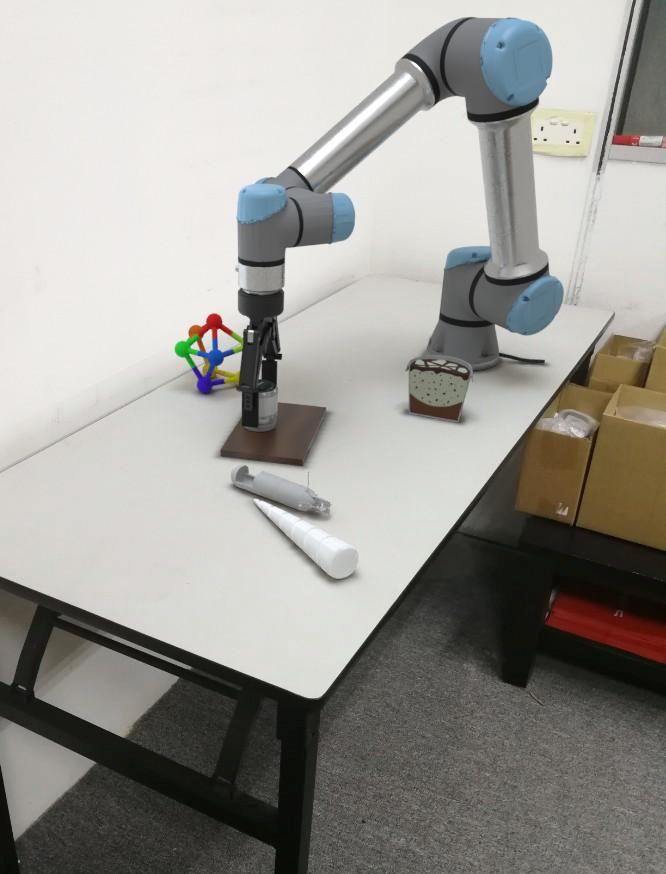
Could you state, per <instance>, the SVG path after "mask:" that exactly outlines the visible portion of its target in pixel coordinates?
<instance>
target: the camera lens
mask: <svg viewBox="0 0 666 874" xmlns="http://www.w3.org/2000/svg"><path fill="white" fill-rule="evenodd" d="M257 390H259V426H258V428H254V427H245V426H244V427H245V428H246V429H248V430H250V431H255V432H265V431H269V430H272V429H273V428H275V425H276V422H277V416H278V413H277V411H278V402H279V387H278V385H277V386H276V384H275V383H273V382H271V381H268V380H264V379H261V378H259V380H258V386H257Z"/></svg>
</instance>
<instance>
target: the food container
mask: <svg viewBox="0 0 666 874" xmlns="http://www.w3.org/2000/svg"><path fill="white" fill-rule="evenodd" d="M406 364H407V365H406V367H405V372H408V415H415V416H420V417H425V418H430V419H437V420H443V421H445V422H446V421H447V422H451V423H459V422H460V420H461V415H462V412H463V407H464V404H465V400H466V396H467V393H468V388H469V385H470V382H471V383H474V370H472V367H471V365H470V364H468V363H467V362H465V361H463V360H461V359H458V358H454V357H449V356H442V355H426V354H425V355H419V356H416V357H413V358H411V359H409V360H408V363H406Z"/></svg>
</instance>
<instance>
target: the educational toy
mask: <svg viewBox="0 0 666 874" xmlns="http://www.w3.org/2000/svg"><path fill="white" fill-rule="evenodd" d="M210 330H211V345H212V349H211V350H210V351H209V352H207V351H206V347H205V345H204V342H203V338H204V336H205V334H206V333H207V332H208V331H210ZM218 330H221V331H222V332H223V333H224V334H226V335H228V336H229V337H231V338H232V339H234V340H235V341H237V343H240V346H236V347H234V348H231V349H228V350H225V351H221V350H220V349H219V341H218V340H219V339H218V336H219V335H218ZM187 334H188V338H187V339H186V340H180V341H178V342H177V343H175V346H174V353H175V355H176V356H178V357H179V358H182V359H183V358H184V359H185V361H186V362H187V364H188V365H189V367H190V368H191V370H192V372H193V373H194V375H195V378H196V379H197V382H196V388H197V389H198V391H199V392H200V393H203V394H208V393H209V392H211V391H212V389H213V387H216V386H221V385H227V384H232V383H235V384H236V386H238V384H239V375H240V370H238V371H236V372H235V373H233V372H230V371H226V370H224V369H223V370H222V369H219V368H218V367H220V366H221V365H222V364H223V362H224V361H225V358H227V357H230V356H232V355H235V354H236V355H237V354H238V353H242V348H243V336H241V335H239V334H238V333H236V332H235V331H234V330H232V329H230V328H229V327H227V326H226V325H224V324H223V318H222V316H221V315H220V314H218V313H215V312H212V313H210V314H208V315H207V317H206V320H205V324H203V325H199V324H194V325H191V326H190V327H189V329H188V333H187ZM195 343H197V347H198V349H194V348H192V346H193V345H195ZM250 344H251V343H250ZM191 355H193V356H197V357H201V358H202V359H203V362H204V364H203V366H202V373H203V374H202V373H201V371H200V370H199V368H198V366H197V365H196V363H195V361H194V360H193V358H192V356H191ZM203 375H204V376H203ZM216 375H218V376H222V377H226V378H219V379H215V380H212V379H211V378H215V377H216Z"/></svg>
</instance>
